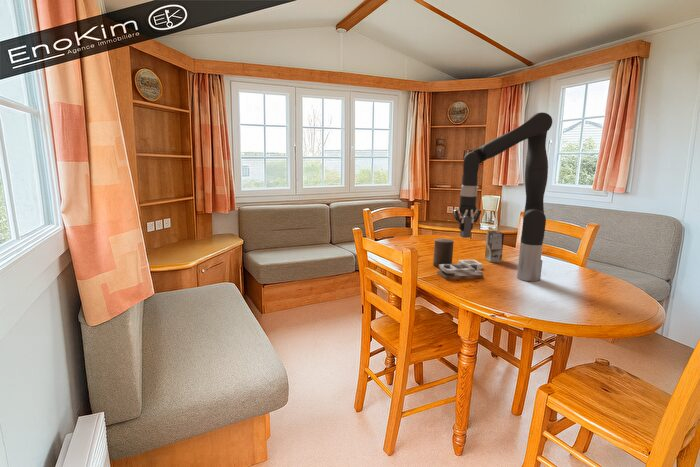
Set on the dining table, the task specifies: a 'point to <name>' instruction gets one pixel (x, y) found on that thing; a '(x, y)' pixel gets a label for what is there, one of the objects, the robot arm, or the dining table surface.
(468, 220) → the steel pin
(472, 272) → the grey slotted fixture
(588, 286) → the dining table surface
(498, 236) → the coffee box
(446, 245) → the pillar candle
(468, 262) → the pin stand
